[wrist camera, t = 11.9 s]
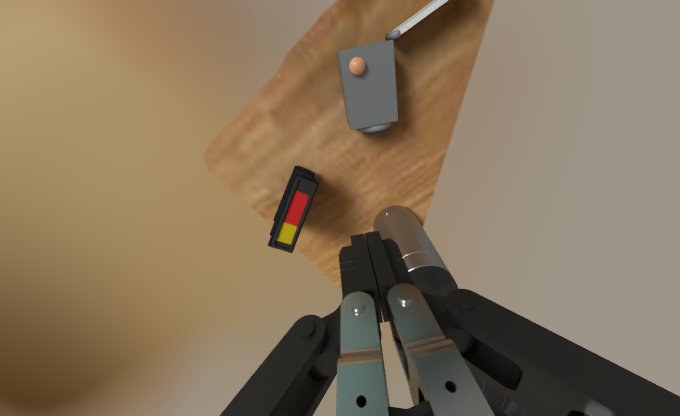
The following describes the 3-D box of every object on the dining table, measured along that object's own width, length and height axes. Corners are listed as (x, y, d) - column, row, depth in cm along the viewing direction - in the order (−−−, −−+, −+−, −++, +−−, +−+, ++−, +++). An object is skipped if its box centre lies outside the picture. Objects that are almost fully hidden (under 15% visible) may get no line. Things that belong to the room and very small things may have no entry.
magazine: (270, 227, 50) (267, 248, 35) (293, 165, 49) (300, 161, 35) (288, 232, 51) (292, 255, 36) (311, 172, 50) (324, 171, 36)
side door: (461, -26, 33) (481, -38, 29) (464, -15, 33) (484, -26, 29) (383, 33, 36) (391, 29, 31) (386, 41, 36) (395, 39, 32)
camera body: (389, 121, 42) (401, 131, 36) (348, 130, 42) (353, 141, 37) (384, 41, 36) (396, 38, 30) (336, 52, 36) (339, 51, 31)
